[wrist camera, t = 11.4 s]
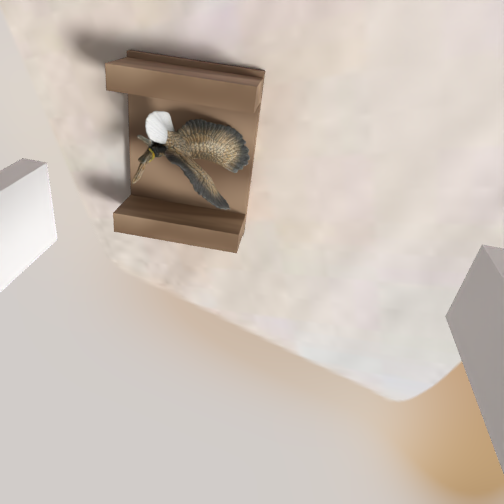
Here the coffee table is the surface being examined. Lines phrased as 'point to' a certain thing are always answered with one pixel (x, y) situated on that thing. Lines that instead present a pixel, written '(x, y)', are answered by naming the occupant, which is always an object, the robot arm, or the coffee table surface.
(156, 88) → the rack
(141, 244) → the coffee table surface
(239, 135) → the eagle figurine
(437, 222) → the coffee table surface
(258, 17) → the coffee table surface
